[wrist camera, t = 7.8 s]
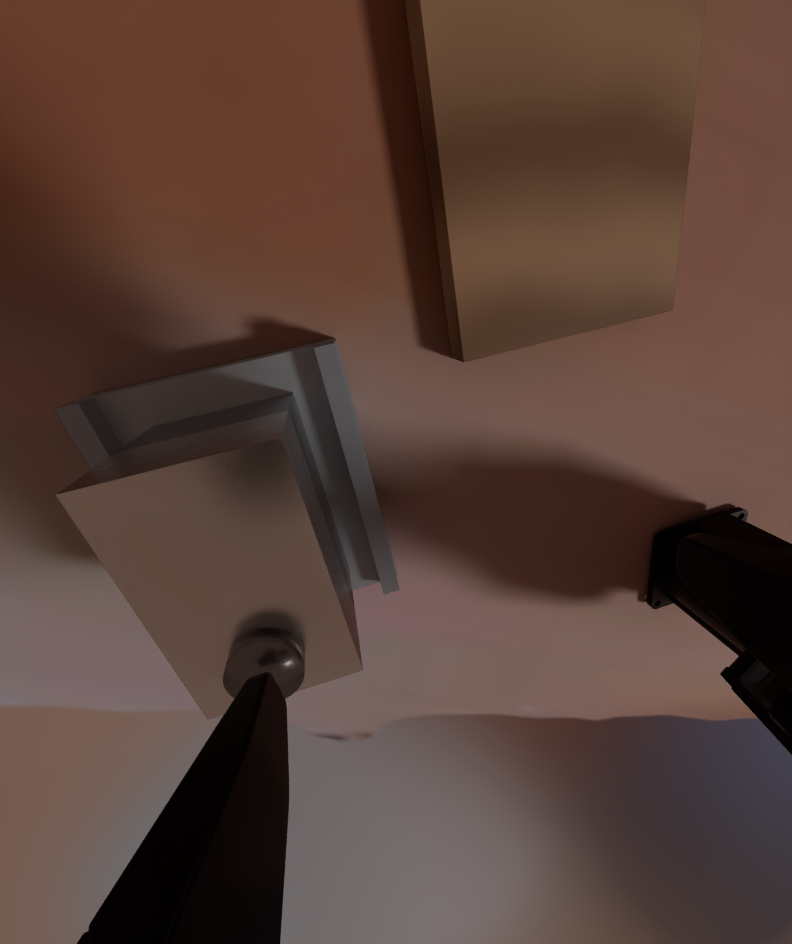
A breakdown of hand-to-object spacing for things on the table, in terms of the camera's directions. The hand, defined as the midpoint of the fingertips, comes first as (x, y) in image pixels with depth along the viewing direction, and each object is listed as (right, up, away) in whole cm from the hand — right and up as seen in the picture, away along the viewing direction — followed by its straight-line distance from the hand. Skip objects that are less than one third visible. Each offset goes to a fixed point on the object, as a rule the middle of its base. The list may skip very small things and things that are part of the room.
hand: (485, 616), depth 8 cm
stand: (+4, +15, +7) cm, 17 cm away
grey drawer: (-8, +2, +9) cm, 12 cm away
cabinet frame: (-8, +2, +10) cm, 13 cm away
